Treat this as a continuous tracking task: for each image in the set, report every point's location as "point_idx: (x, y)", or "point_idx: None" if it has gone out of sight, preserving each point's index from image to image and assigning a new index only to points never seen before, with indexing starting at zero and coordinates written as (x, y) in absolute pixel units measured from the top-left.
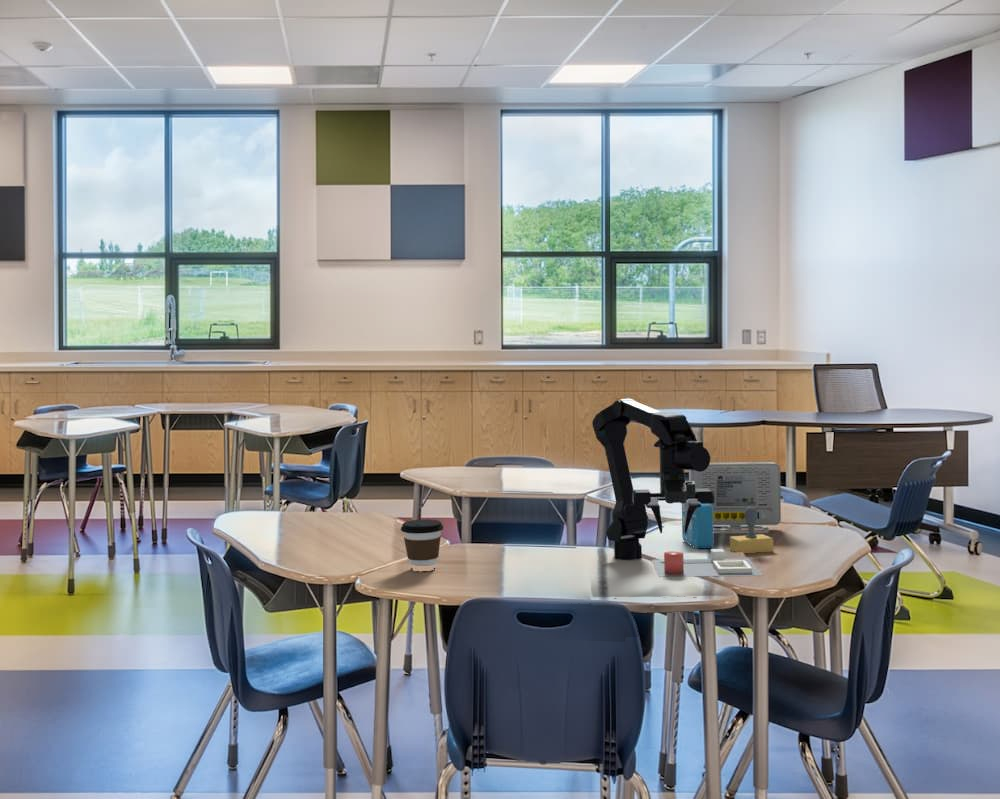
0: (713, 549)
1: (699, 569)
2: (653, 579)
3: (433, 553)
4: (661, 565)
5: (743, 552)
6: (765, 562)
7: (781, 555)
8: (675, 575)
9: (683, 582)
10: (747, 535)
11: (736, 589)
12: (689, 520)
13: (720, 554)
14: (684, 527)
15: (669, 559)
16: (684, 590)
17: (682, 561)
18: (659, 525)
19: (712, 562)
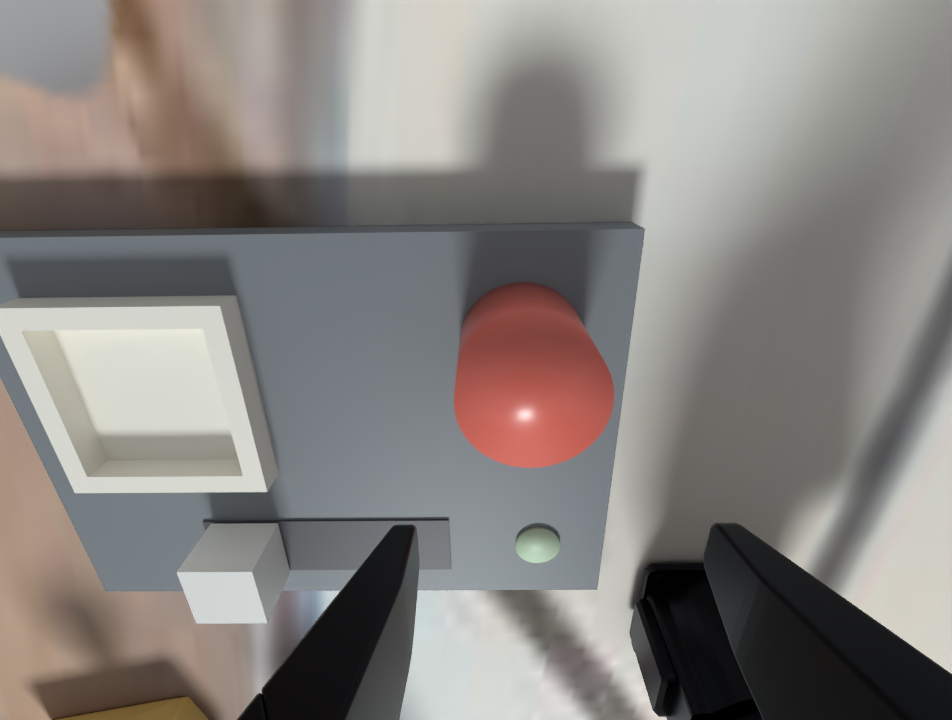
0: (250, 616)
1: (357, 398)
2: (644, 311)
3: None
4: (568, 485)
5: (164, 704)
6: (51, 589)
7: (5, 675)
8: (524, 257)
9: None
10: None
11: (118, 25)
12: (290, 674)
13: (213, 558)
14: (409, 595)
15: (576, 326)
16: (493, 3)
17: (467, 341)
18: (830, 597)
19: (281, 525)
